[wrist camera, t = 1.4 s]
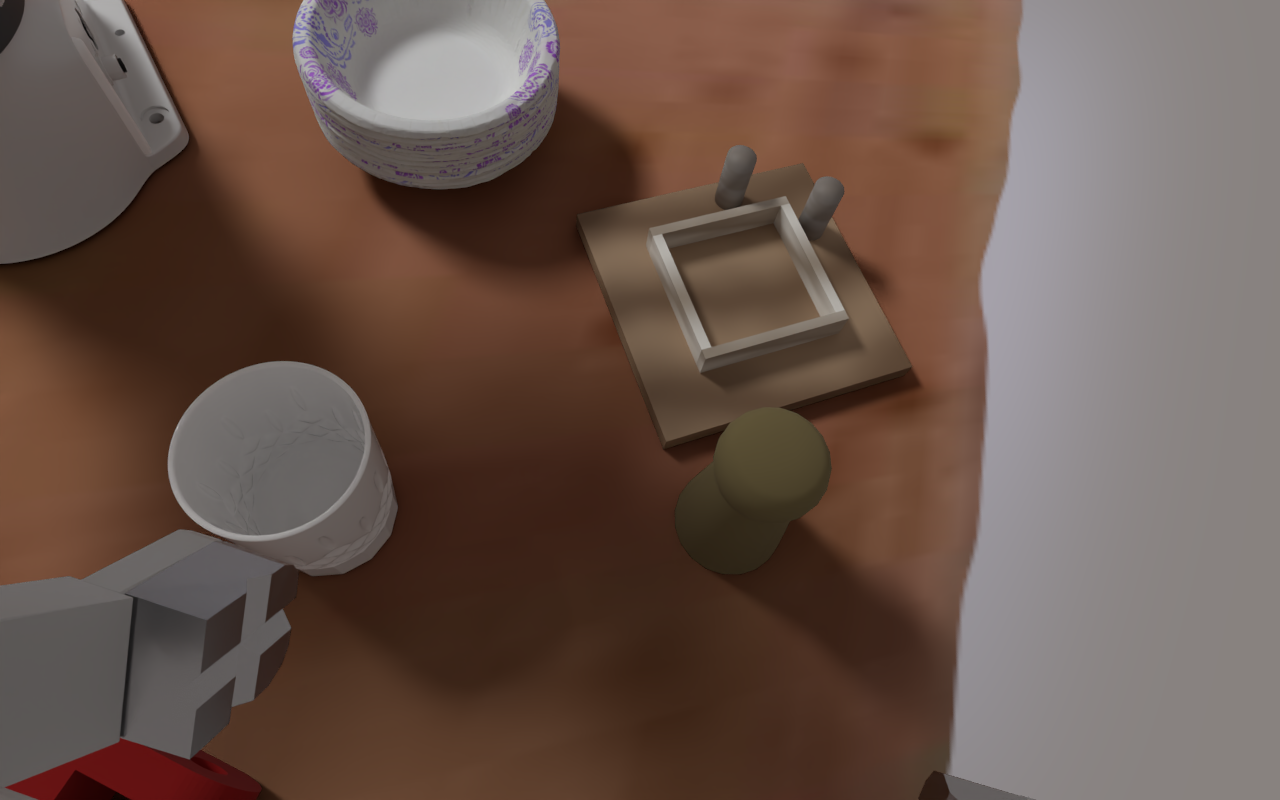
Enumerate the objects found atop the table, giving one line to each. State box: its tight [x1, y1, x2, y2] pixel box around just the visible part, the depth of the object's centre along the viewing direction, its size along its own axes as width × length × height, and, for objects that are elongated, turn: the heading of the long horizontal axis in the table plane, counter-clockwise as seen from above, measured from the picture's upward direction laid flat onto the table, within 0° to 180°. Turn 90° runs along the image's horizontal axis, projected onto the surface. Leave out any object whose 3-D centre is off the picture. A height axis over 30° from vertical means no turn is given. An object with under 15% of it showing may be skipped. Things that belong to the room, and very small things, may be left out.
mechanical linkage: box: [5, 738, 262, 800], centre depth 33 cm, size 16×7×5 cm, turn 66°
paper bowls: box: [292, 0, 560, 189], centre depth 49 cm, size 15×15×8 cm
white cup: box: [168, 361, 398, 576], centre depth 37 cm, size 8×8×10 cm
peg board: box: [576, 145, 912, 449], centre depth 47 cm, size 16×16×5 cm
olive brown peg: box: [675, 407, 832, 574], centre depth 38 cm, size 6×6×11 cm
